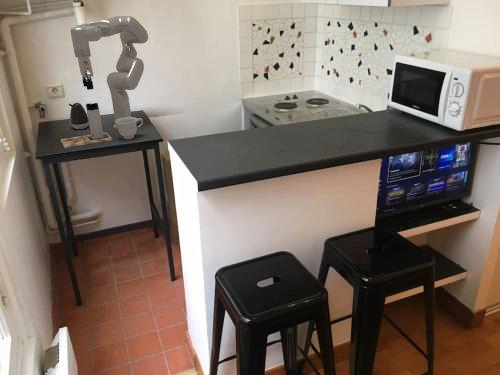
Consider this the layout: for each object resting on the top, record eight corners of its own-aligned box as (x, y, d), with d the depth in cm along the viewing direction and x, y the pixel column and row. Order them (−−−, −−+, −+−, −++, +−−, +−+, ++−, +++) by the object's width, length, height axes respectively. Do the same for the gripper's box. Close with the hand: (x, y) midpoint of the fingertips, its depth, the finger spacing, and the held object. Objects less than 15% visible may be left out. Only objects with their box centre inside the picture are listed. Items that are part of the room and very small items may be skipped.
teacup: (147, 137, 230) (145, 119, 226) (120, 142, 223) (117, 124, 219) (141, 132, 240) (139, 114, 235) (115, 136, 233) (112, 119, 229)
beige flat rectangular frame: (107, 134, 237) (106, 132, 237) (112, 139, 228) (111, 137, 227) (61, 141, 227) (60, 139, 226) (64, 148, 217) (63, 145, 216)
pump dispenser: (78, 125, 255) (74, 100, 249) (93, 126, 252) (89, 101, 246) (67, 130, 246) (62, 104, 240) (83, 131, 243) (78, 105, 237)
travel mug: (91, 141, 226) (84, 104, 218) (92, 137, 232) (85, 101, 223) (103, 140, 228) (97, 103, 219) (104, 136, 233) (97, 100, 225)
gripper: (93, 54, 206) (99, 89, 213) (87, 51, 219) (92, 84, 226) (77, 55, 202) (84, 91, 209) (72, 52, 216) (78, 85, 223)
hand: (88, 87), depth 218 cm, fingers open, 9 cm apart
